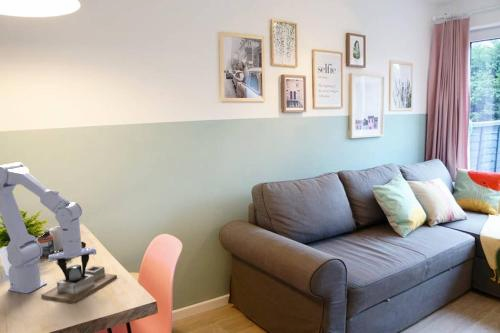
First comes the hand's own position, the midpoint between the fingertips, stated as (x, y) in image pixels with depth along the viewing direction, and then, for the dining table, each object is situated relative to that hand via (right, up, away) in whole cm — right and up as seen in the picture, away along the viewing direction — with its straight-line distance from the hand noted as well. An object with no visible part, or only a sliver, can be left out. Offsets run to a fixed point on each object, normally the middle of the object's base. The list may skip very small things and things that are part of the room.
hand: (75, 277), depth 128 cm
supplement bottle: (-28, -1, +34) cm, 44 cm away
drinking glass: (-26, 0, +42) cm, 49 cm away
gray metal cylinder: (0, -2, 0) cm, 2 cm away
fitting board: (+1, -4, +2) cm, 5 cm away
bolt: (-17, -1, +35) cm, 39 cm away
